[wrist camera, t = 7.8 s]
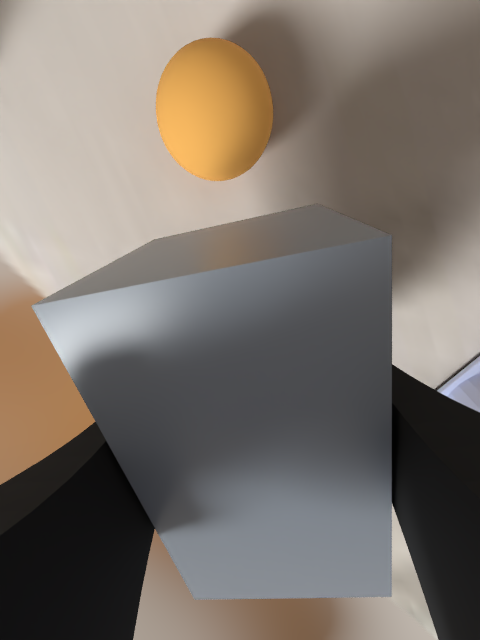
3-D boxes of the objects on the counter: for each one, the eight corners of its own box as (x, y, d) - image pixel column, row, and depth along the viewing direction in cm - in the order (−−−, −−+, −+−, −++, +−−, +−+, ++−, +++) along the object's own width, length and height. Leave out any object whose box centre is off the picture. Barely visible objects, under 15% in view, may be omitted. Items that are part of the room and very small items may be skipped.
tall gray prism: (339, 427, 14) (391, 596, 8) (220, 439, 15) (194, 599, 9) (317, 203, 10) (391, 235, 4) (154, 239, 11) (31, 305, 5)
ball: (307, 97, 10) (287, 81, 14) (171, -4, 8) (188, 6, 12) (239, 217, 13) (237, 178, 17) (129, 161, 12) (152, 130, 15)
